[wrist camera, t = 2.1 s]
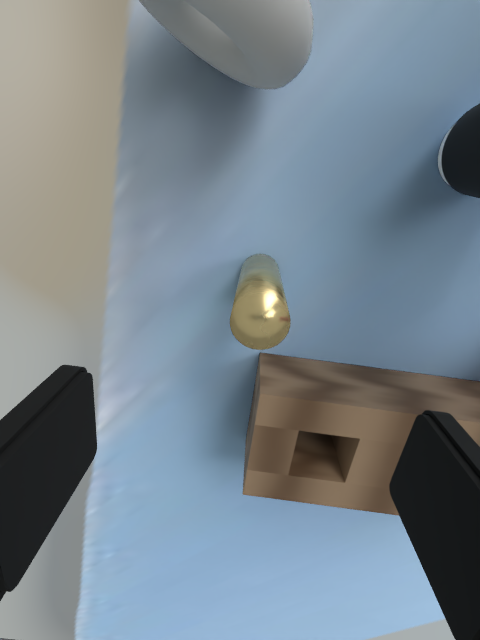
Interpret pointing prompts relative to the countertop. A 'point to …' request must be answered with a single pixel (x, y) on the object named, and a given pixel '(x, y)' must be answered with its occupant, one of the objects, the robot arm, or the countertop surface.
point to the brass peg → (260, 305)
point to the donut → (242, 36)
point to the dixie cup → (462, 154)
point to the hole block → (341, 428)
